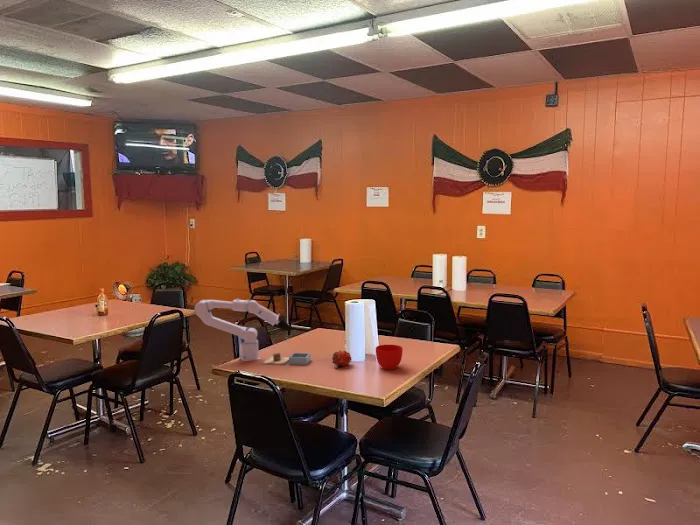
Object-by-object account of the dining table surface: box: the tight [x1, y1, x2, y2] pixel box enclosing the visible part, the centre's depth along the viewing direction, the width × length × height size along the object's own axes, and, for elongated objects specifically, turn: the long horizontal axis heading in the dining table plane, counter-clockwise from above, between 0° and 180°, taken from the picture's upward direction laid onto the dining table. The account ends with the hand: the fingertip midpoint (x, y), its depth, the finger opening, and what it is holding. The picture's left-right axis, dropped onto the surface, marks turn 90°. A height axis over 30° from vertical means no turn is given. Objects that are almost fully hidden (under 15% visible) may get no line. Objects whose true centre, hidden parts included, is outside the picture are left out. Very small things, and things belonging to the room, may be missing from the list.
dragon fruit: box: [331, 350, 352, 368], centre depth 267 cm, size 8×8×12 cm
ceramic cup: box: [375, 344, 403, 371], centre depth 264 cm, size 13×17×10 cm
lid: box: [262, 352, 290, 366], centre depth 275 cm, size 11×11×4 cm
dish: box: [288, 352, 312, 366], centre depth 273 cm, size 9×9×4 cm
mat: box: [260, 358, 289, 366], centre depth 275 cm, size 13×13×1 cm
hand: (290, 329), depth 283 cm, fingers open, 7 cm apart
